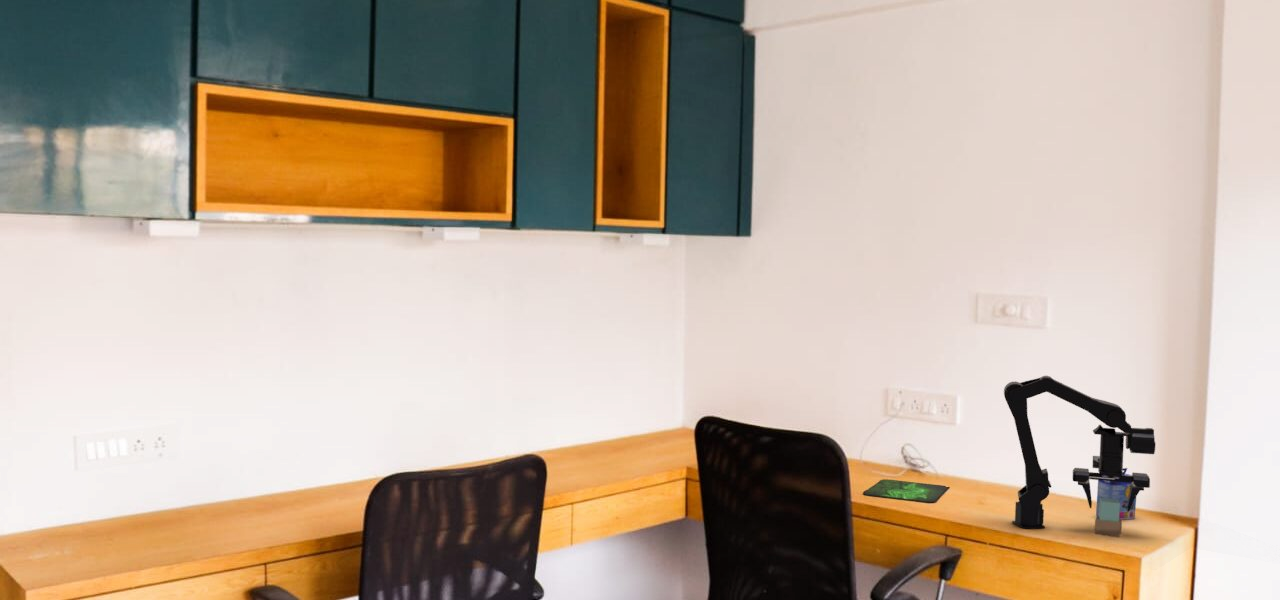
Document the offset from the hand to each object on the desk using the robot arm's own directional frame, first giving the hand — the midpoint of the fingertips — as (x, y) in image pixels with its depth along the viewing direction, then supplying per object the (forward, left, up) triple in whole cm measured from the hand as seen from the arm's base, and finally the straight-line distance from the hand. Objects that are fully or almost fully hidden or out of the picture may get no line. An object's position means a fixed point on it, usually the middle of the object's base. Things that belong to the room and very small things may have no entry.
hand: (1109, 509), depth 292 cm
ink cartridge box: (+12, +15, -7) cm, 20 cm away
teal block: (0, 0, -2) cm, 3 cm away
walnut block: (0, 0, -6) cm, 6 cm away
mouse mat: (-34, +53, -7) cm, 63 cm away
